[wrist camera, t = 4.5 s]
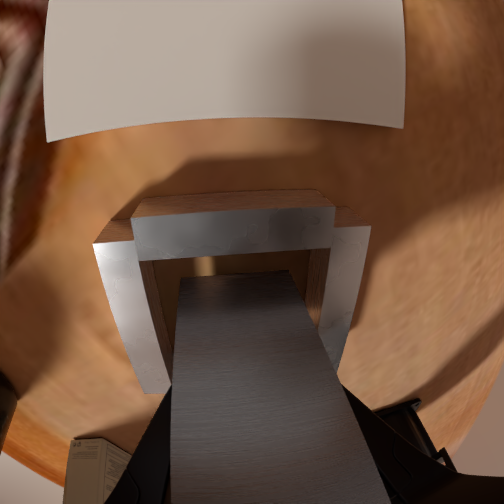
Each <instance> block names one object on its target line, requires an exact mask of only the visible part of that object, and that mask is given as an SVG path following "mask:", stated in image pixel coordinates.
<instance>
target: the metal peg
mask: <svg viewBox="0 0 504 504" xmlns="http://www.w3.org/2000/svg"><path fill="white" fill-rule="evenodd" d="M170 466H171V504H391V502H390V499H389V497H388V494H387V492H386V489H385V487H384V484H383V482H382V479H381V477H380V474H379V472H378V470H377V467H376V465H375V462H374V460H373V457H372V455H371V453H370V450H369V448H368V445H367V443H366V441H365V438H364V436H363V434H362V431H361V429H360V427H359V424H358V422H357V420H356V417H355V415H354V413H353V410H352V408H351V406H350V403H349V401H348V399H347V397H346V394H345V392H344V390H343V387H342V385H341V383H340V381H339V378H338V376H337V374H336V372H335V369H334V367H333V365H332V363H331V361H330V358H329V356H328V354H327V352H326V349H325V347H324V345H323V343H322V341H321V338H320V336H319V334H318V332H317V330H316V328H315V325H314V323H313V321H312V319H311V317H310V315H309V312H308V310H307V308H306V306H305V304H304V302H303V299H302V297H301V295H300V293H299V291H298V289H297V287H296V285H295V282H294V280H293V278H292V276H291V274H290V272H289V270H279V271H267V272H254V273H241V274H228V275H214V276H200V277H185V278H181V279H180V289H179V298H178V309H177V320H176V332H175V345H174V360H173V377H172V399H171V440H170Z"/></svg>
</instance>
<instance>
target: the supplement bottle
mask: <svg viewBox="0 0 504 504" xmlns="http://www.w3.org/2000/svg"><path fill="white" fill-rule="evenodd" d="M16 406H17V398H16V394H15V392H14V390H13V388H12V386H11V385H10V384H9V382H8V381H7V380H6V378H5V377H4V376H3V375H2V374H1V373H0V454H1V451H2V448H3V444H4V441H5V438H6V435H7V432H8V429H9V426H10V423H11V420H12V418H13V415H14V412H15V409H16Z"/></svg>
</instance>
